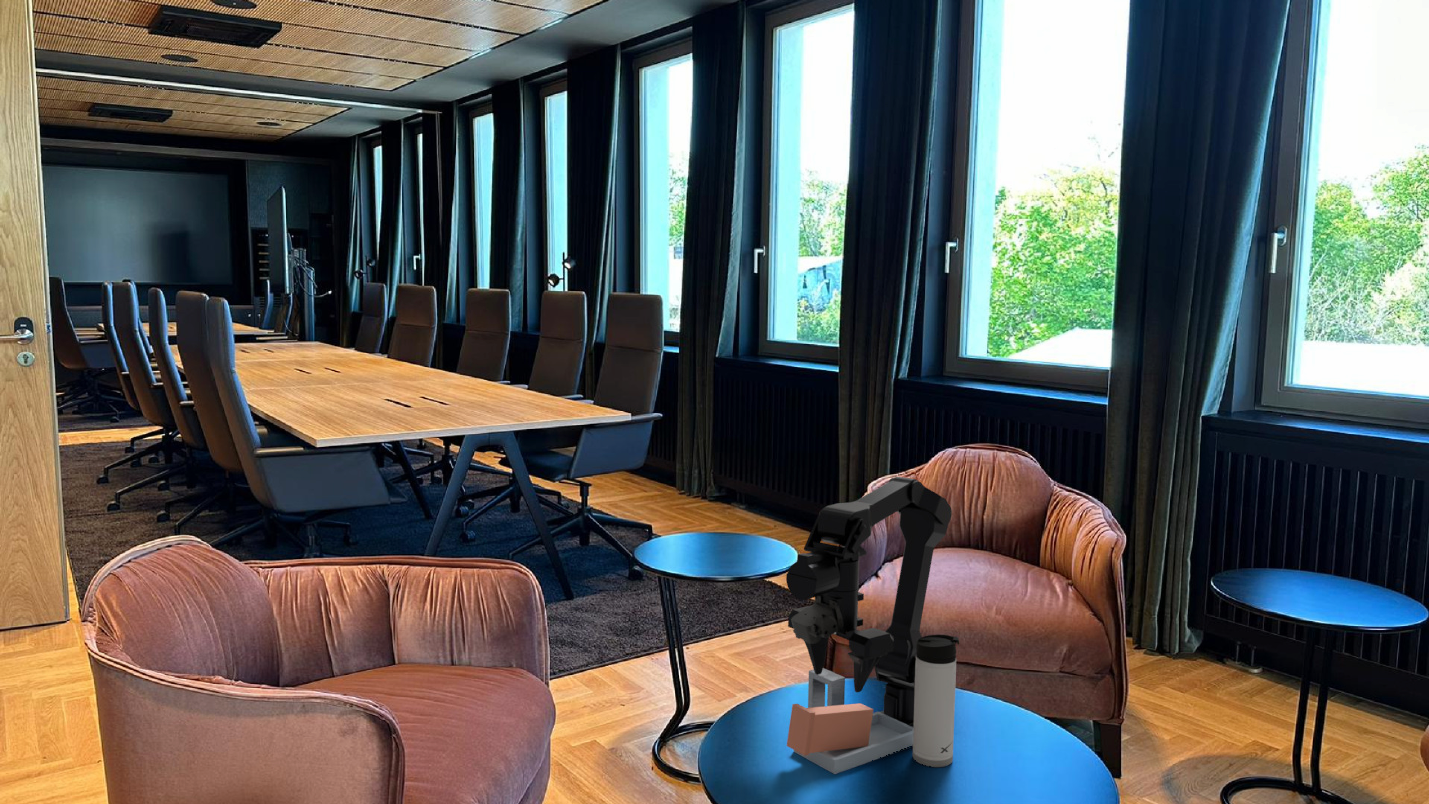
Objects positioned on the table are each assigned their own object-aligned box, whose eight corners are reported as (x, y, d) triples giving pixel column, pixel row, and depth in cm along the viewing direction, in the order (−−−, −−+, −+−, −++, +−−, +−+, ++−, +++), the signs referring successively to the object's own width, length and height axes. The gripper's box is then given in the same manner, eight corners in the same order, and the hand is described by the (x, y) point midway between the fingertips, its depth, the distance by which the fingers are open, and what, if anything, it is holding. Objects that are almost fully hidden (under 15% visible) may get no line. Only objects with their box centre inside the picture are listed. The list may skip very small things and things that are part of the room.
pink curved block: (852, 738, 168) (858, 698, 168) (870, 747, 165) (876, 706, 165) (786, 745, 160) (792, 704, 160) (804, 755, 156) (810, 712, 156)
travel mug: (955, 770, 158) (960, 645, 156) (912, 765, 160) (916, 641, 158) (954, 752, 165) (958, 632, 163) (912, 748, 166) (916, 629, 164)
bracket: (820, 709, 181) (821, 667, 181) (843, 721, 176) (845, 677, 176) (807, 713, 180) (808, 670, 179) (831, 725, 175) (832, 681, 174)
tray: (878, 723, 176) (878, 711, 175) (920, 743, 168) (920, 730, 168) (793, 751, 164) (794, 738, 164) (834, 774, 157) (835, 760, 156)
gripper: (763, 581, 163) (761, 675, 165) (843, 610, 149) (841, 713, 150) (815, 571, 170) (813, 661, 172) (897, 597, 155) (894, 697, 157)
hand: (837, 682), depth 162 cm, fingers open, 9 cm apart
